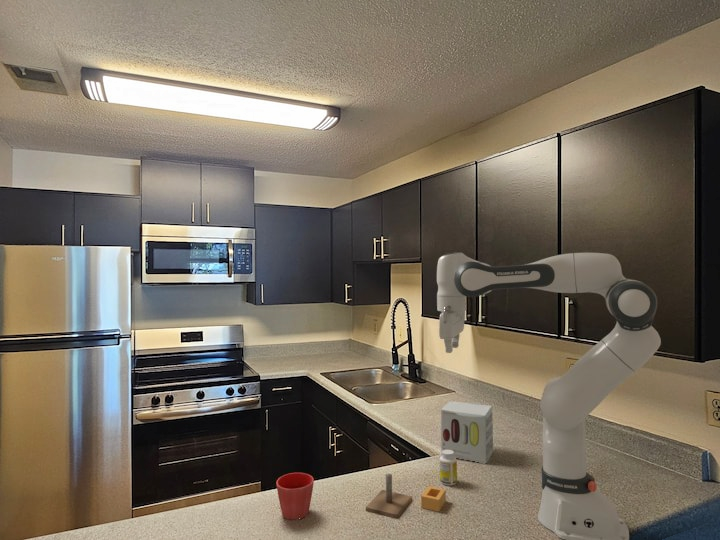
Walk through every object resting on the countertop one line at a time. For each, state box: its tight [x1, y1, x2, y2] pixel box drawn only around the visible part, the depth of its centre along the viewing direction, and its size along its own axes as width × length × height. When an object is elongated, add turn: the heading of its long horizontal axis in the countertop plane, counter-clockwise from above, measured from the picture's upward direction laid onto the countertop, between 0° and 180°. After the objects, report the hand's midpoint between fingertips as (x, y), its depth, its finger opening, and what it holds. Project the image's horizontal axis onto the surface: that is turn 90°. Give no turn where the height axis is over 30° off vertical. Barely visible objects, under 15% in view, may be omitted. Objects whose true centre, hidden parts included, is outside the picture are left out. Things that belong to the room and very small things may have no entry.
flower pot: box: [276, 472, 315, 520], centre depth 135 cm, size 11×11×10 cm
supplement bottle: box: [439, 450, 458, 487], centre depth 153 cm, size 6×6×10 cm
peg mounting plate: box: [365, 473, 413, 519], centre depth 139 cm, size 10×12×9 cm
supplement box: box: [440, 400, 494, 464], centre depth 176 cm, size 17×13×18 cm
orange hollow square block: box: [420, 485, 447, 513], centre depth 139 cm, size 5×7×4 cm
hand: (452, 350), depth 142 cm, fingers open, 8 cm apart
